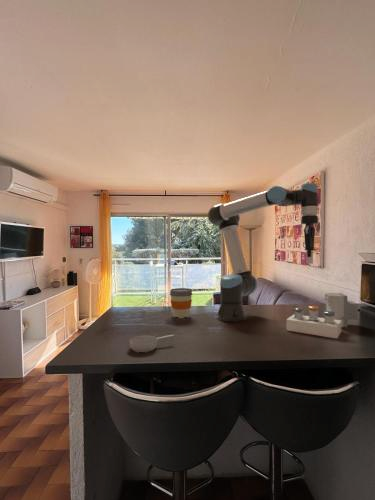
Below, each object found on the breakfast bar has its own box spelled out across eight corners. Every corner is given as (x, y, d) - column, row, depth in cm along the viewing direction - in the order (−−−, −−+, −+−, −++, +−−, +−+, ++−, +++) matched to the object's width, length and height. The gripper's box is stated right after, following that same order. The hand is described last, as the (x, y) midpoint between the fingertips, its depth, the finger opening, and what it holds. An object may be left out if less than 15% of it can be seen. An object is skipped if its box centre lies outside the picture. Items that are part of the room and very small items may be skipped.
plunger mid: (307, 326, 128) (307, 307, 128) (309, 324, 132) (309, 305, 131) (317, 327, 125) (317, 308, 125) (319, 325, 129) (319, 306, 129)
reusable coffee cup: (196, 315, 160) (196, 289, 160) (184, 320, 150) (184, 292, 150) (178, 312, 167) (178, 287, 167) (165, 317, 157) (165, 290, 156)
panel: (286, 330, 130) (286, 319, 130) (293, 324, 139) (293, 314, 139) (337, 338, 117) (337, 326, 117) (341, 331, 127) (341, 320, 127)
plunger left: (292, 327, 132) (292, 309, 132) (295, 325, 135) (295, 307, 135) (302, 329, 129) (302, 310, 129) (305, 326, 133) (304, 308, 133)
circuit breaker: (361, 327, 132) (361, 296, 132) (329, 326, 135) (329, 295, 135) (355, 323, 140) (355, 293, 139) (324, 322, 143) (324, 292, 142)
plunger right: (323, 332, 124) (322, 312, 124) (324, 329, 128) (324, 310, 128) (334, 334, 122) (333, 313, 121) (335, 331, 125) (335, 311, 125)
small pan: (127, 346, 112) (127, 336, 112) (169, 339, 119) (169, 331, 119) (133, 356, 102) (132, 345, 102) (178, 348, 109) (178, 338, 109)
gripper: (314, 213, 130) (315, 264, 130) (320, 216, 140) (320, 263, 140) (298, 215, 134) (298, 264, 134) (304, 217, 145) (305, 262, 145)
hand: (309, 263), depth 137 cm, fingers closed
